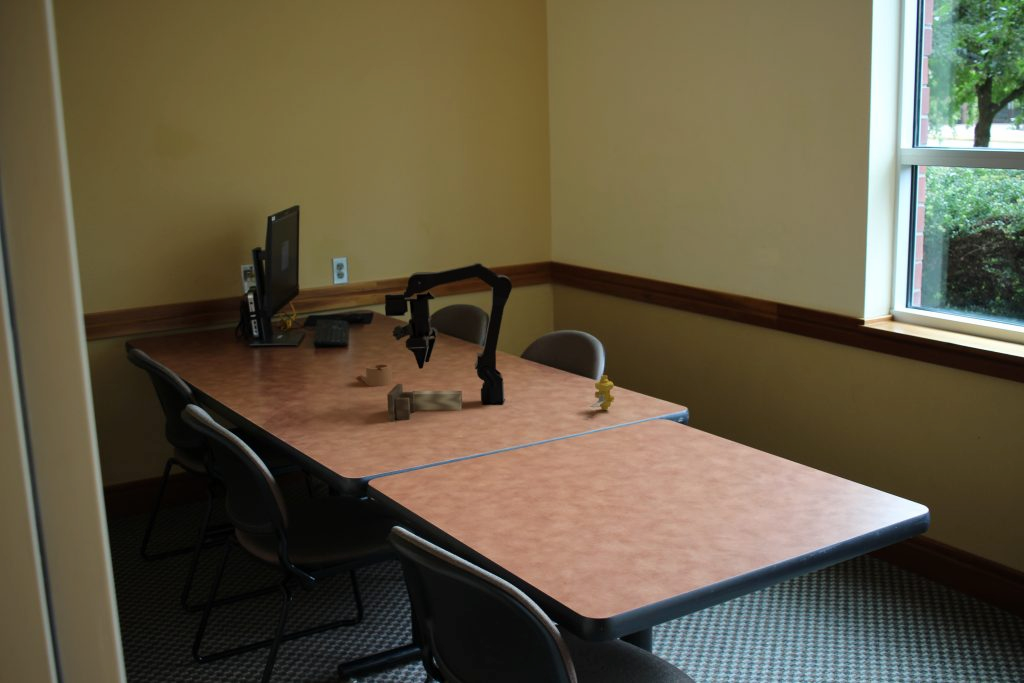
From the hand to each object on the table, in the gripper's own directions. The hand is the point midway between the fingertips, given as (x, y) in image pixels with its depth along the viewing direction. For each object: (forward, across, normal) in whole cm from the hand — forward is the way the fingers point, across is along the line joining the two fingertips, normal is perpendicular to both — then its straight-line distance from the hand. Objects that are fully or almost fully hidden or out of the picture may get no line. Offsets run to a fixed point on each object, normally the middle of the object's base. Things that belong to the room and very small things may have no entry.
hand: (424, 365), depth 302 cm
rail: (+13, +4, +4) cm, 14 cm away
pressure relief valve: (+14, +8, +53) cm, 56 cm away
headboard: (+12, +12, -5) cm, 18 cm away
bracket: (+13, -32, -24) cm, 41 cm away
